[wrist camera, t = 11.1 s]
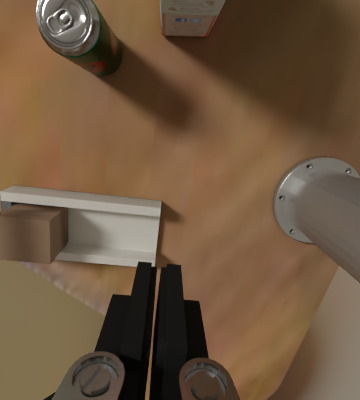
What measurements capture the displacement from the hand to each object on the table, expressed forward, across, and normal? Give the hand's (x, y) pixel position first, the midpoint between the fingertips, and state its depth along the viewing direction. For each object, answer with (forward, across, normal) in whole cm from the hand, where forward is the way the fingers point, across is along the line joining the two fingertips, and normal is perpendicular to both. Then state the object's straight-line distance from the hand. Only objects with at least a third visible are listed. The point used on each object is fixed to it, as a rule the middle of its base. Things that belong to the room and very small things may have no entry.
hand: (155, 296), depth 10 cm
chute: (+27, +10, +9) cm, 30 cm away
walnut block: (+27, +16, +9) cm, 32 cm away
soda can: (+27, +9, -13) cm, 32 cm away
